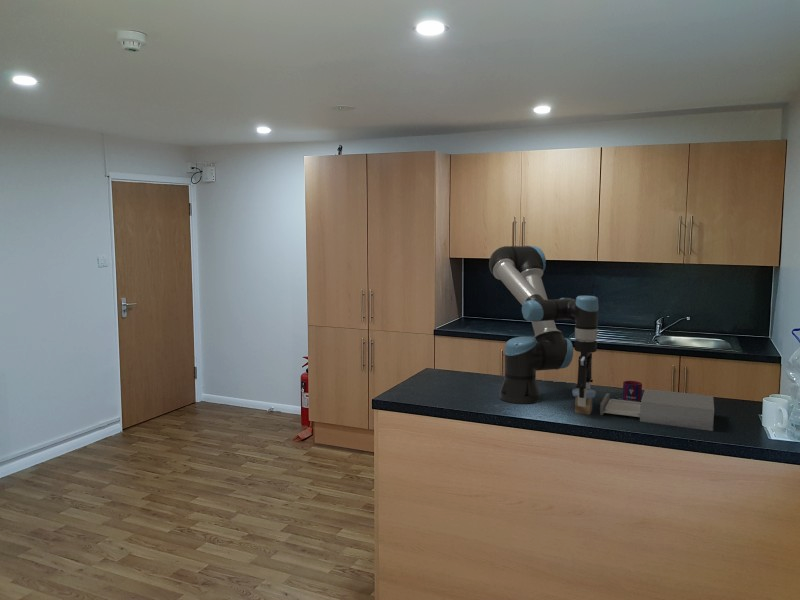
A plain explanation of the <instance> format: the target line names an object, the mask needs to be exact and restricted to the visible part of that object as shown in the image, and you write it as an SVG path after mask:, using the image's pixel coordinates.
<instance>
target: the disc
mask: <svg viewBox="0 0 800 600" xmlns="http://www.w3.org/2000/svg"><path fill="white" fill-rule="evenodd" d="M572 396H573V397H578V388H576V387H575V388H573V389H572ZM596 397H597V391H596V390H595V389H591V388H590V389H587V388H586V399H590V398H592V399H595V398H596Z"/></svg>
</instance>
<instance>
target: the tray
mask: <svg viewBox="0 0 800 600" xmlns="http://www.w3.org/2000/svg"><path fill="white" fill-rule="evenodd" d="M599 405H600V407H599V415H600V416H603V415H604V414H612V415H619V416H628V417H635V418H636V417H637V418H640V407H641V402H634V401H625V400H623V399H618V398H617V399H615V398H610V392H606V393H605V396H604V397H603V398H602V400H601V402H600V403H599Z"/></svg>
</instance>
